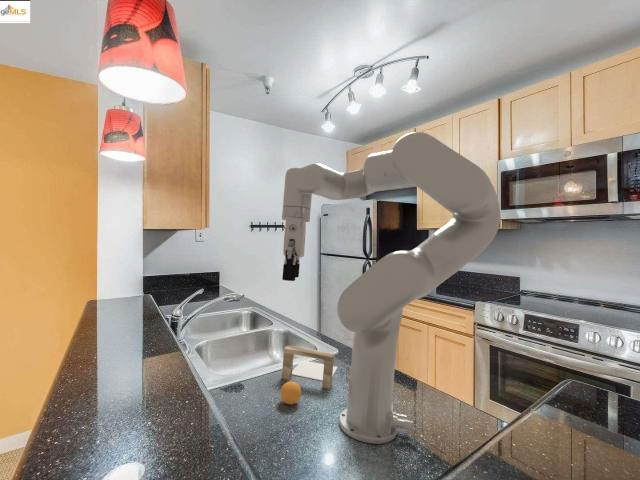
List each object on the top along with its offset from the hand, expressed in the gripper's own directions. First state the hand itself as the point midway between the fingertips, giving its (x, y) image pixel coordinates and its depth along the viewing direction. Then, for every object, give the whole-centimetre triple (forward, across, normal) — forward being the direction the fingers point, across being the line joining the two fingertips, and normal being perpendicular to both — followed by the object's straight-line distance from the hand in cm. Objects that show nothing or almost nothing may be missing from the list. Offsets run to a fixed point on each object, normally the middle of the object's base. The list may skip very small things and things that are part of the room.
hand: (290, 278), depth 82 cm
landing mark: (+29, +14, -8) cm, 33 cm away
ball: (+27, -7, -3) cm, 28 cm away
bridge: (+29, +6, -6) cm, 30 cm away
